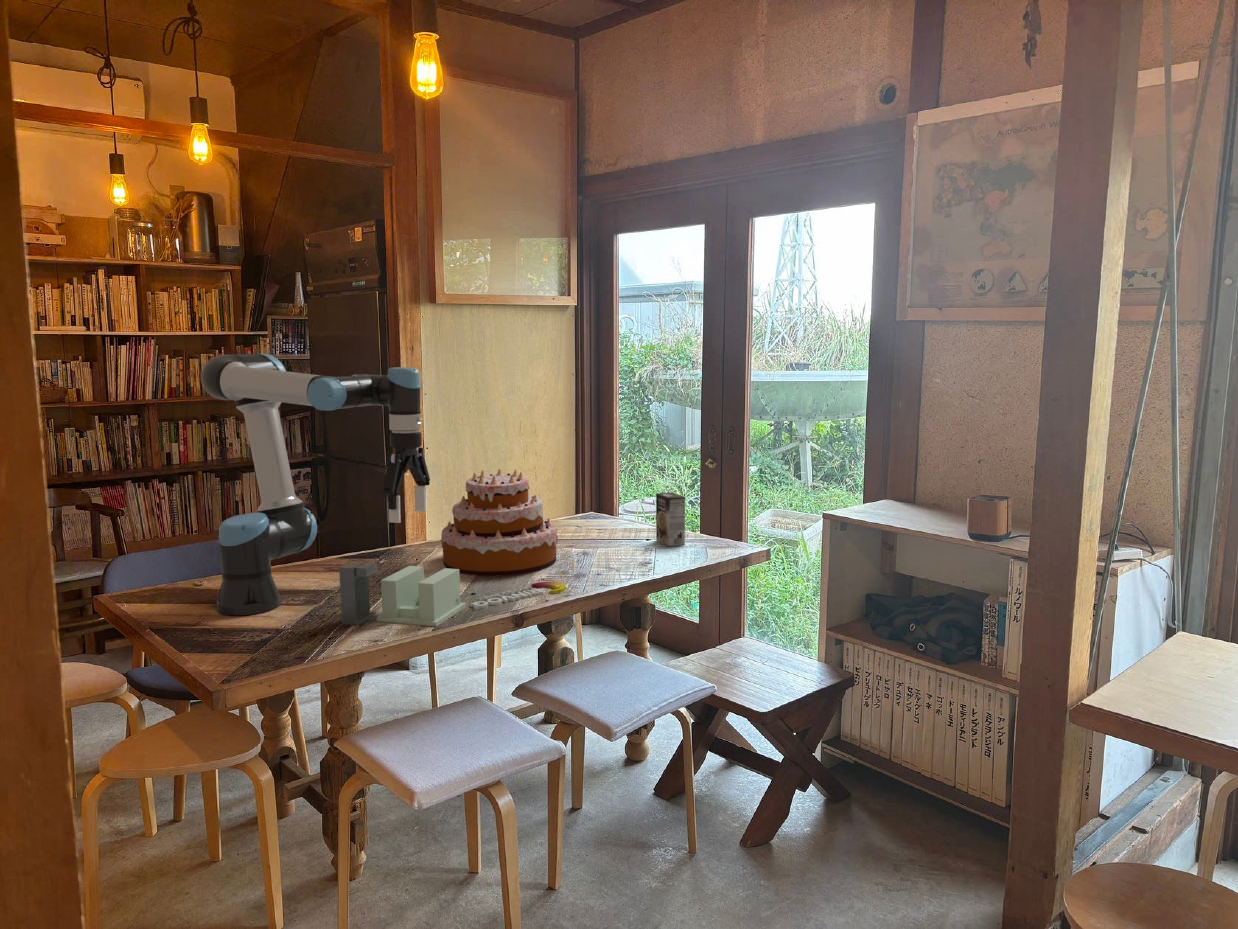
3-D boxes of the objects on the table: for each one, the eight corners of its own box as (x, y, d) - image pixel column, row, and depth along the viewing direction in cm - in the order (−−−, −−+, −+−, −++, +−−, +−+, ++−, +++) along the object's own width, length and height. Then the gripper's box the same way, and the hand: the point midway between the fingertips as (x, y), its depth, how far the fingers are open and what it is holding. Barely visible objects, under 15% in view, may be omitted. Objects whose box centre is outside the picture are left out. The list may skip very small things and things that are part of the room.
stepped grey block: (342, 624, 216) (339, 567, 214) (355, 616, 222) (353, 561, 220) (367, 626, 214) (365, 569, 212) (381, 618, 220) (378, 563, 218)
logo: (551, 579, 251) (572, 586, 243) (551, 583, 251) (572, 590, 244) (458, 599, 232) (478, 608, 225) (458, 604, 233) (478, 612, 225)
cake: (573, 569, 265) (571, 476, 261) (454, 582, 252) (451, 484, 248) (539, 544, 297) (537, 460, 293) (432, 554, 284) (429, 467, 280)
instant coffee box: (655, 541, 299) (655, 493, 297) (672, 539, 302) (672, 491, 300) (668, 546, 291) (668, 497, 289) (685, 544, 294) (685, 496, 291)
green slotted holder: (376, 621, 218) (374, 581, 217) (409, 602, 233) (407, 564, 232) (436, 626, 214) (434, 585, 212) (465, 606, 229) (464, 568, 228)
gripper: (394, 437, 206) (397, 528, 209) (441, 426, 230) (443, 507, 233) (365, 436, 208) (368, 526, 211) (415, 425, 232) (417, 506, 235)
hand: (408, 516), depth 222 cm, fingers open, 13 cm apart
